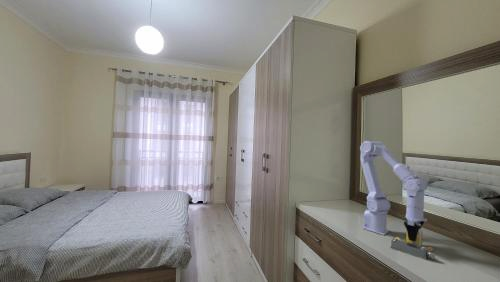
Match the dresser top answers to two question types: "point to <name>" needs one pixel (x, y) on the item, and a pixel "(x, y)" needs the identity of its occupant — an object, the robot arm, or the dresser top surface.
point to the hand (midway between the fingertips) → (413, 238)
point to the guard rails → (426, 247)
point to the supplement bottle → (419, 237)
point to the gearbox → (411, 249)
